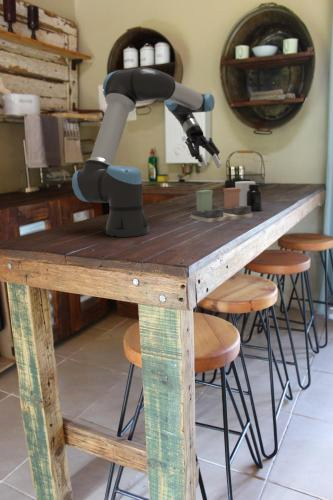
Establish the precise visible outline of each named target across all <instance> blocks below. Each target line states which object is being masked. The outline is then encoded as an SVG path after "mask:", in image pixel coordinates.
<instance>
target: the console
mask: <svg viewBox="0 0 333 500" xmlns="http://www.w3.org/2000/svg"><path fill="white" fill-rule="evenodd" d="M253 216H254V215H253V213H252V211H251V206H239V207H233V209H229V208H224V206H219V207H218V208H214V209H213V208H212V209H211V210H205V212H201V211H197V209H196V210H195V209H191V214H189V219H191V220H196V221H201V222H203V223H209V222H210V223H214V222H215V223H216V222H217V221H218V222H225V221H233V220H234V221H235V220H241V219H247V218H249V219H250V218H254V217H253ZM218 222H217V223H218Z"/></svg>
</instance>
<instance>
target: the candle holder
mask: <svg viewBox="0 0 333 500" xmlns="http://www.w3.org/2000/svg"><path fill="white" fill-rule="evenodd" d="M249 184H257V183H256V181H249V180H248V181H247V180H246V181H245V180H243V181H235V182H234V186H235V187H234V188H241V192H240V200H239V206H247V191H248V190H249Z"/></svg>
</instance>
